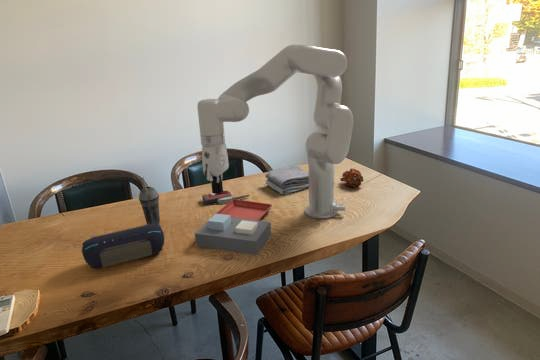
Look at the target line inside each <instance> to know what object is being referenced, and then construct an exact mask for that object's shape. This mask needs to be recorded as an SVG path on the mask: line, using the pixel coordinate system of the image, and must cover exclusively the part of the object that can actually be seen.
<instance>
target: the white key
mask: <svg viewBox="0 0 540 360" xmlns="http://www.w3.org/2000/svg"><path fill="white" fill-rule="evenodd" d="M257 228H258V222H252V221H244V220H242V221H241V222H240V223H239V224H238V225H237V227H236V228H235V232H236V233H241V234H249V235H253V234H254V232H255V231H256V230H257Z"/></svg>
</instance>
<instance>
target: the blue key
mask: <svg viewBox="0 0 540 360" xmlns="http://www.w3.org/2000/svg"><path fill="white" fill-rule="evenodd" d="M214 214H215V213H214ZM214 214H213V215H214ZM213 215H212V216H211V217H210V218H209V219H208V220H207V221H208V227H209V229H210V230H218V231H226V229H227V228H228V227H229V226H230V225H231V215H224V214H215V215H214V216H213Z"/></svg>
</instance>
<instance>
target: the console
mask: <svg viewBox="0 0 540 360" xmlns="http://www.w3.org/2000/svg"><path fill="white" fill-rule="evenodd" d="M242 220H244V221H252V222H258V228H257V230H256V231H255V232H254V234H253V235H249V234H241V233H236V232H235V228H236V227H237V225H238V224H239V223H240V222H241V221H242ZM271 236H272V222H271V221H266V220H250V219H241V218H232V217H231V225H230V226H229V227H228V228H227V229H226V231H218V230H210V229H209V227H208V220H207V221H206V222H205V223H204V224H203V225H202V226H201V227H200V228H199V229H197V230H196V231H195V232H194V238H195V245H196V247H197V248H199V247H200V248H205V249H212V250H218V251H225V252H233V253H240V254H247V255H255V256H258V254H259V253H260V252H261V250H262V249H263V247H264V246H265V245H266V243H267V242H268V240H269V239H270V237H271Z"/></svg>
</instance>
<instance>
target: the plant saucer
mask: <svg viewBox="0 0 540 360" xmlns="http://www.w3.org/2000/svg"><path fill="white" fill-rule="evenodd" d="M272 207H273V204H272V203H264V202H258V201H251V200H250V201H249V200H243V199H233V200H231V201H230V202H229V203H225V205H224V206H222V208H220V209H219V210H218V211H217V212H215V213H214V214H213V215H212V216H214V215H215V214H224V215H231V217H232V218H241V219H250V220H259V221H261V219H262V218H264V217H265V215H267V214H268V213H269V211H270V210H271V209H272Z"/></svg>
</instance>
